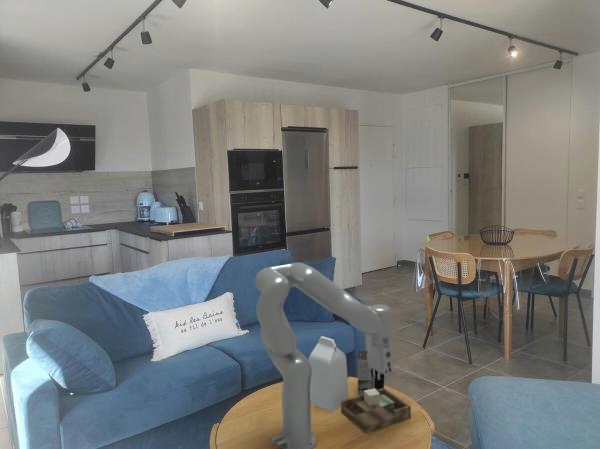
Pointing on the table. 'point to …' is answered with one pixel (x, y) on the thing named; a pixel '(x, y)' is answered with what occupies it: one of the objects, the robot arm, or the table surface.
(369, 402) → the block
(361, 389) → the coffee box
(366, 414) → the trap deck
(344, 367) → the milk
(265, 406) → the table surface
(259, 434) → the table surface
